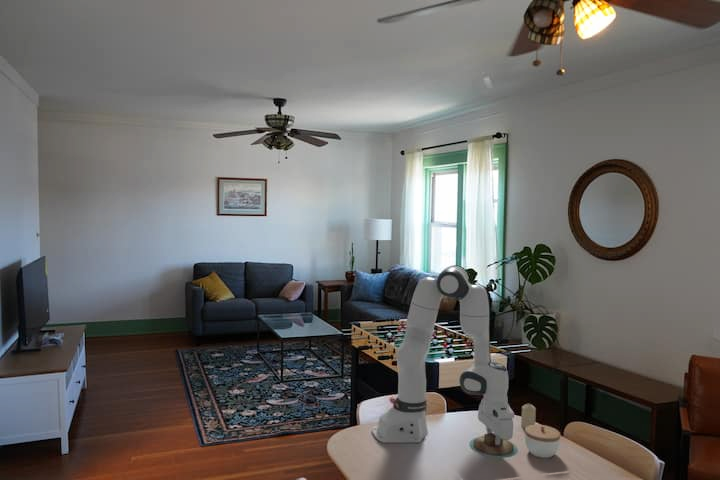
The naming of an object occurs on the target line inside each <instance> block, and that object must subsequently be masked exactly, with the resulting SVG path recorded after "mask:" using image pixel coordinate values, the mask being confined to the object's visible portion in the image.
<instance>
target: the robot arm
mask: <svg viewBox="0 0 720 480" xmlns="http://www.w3.org/2000/svg"><path fill="white" fill-rule="evenodd" d="M469 276H470V275H469V273H468V271H467V270H466V269H465V268H464V267H463V266H461V265H456V264H453V265H450V266H447V267H445V268H444V269H443V270H442V271H441V272H440V273H439V274H438V276H437V277H432V276H426V277H423V278H421V279H419V281H418V282H417V285H416V287H415V290H414V292H413V295H412V297H411V303H410V306H409V310H408V314H407V318H406V325H405V331H404V332H405V333H404V336H403V340H402V342H401V344H400V345H399V346H398V347H397V351H396V365H397V367H396V368H397V375H398V384H397V385H398V386H397V390H398V391H397V397H396V398H394V397H393V396H391V397H390V398H389V402H390V403H392V406H391V408H389V409H388V410H386V411H385V412H384V413H383V414H381V415H380V416H379V419H378V424H377V425H375V426H373V427H372V429H371V430H372V431H371V432H372V433H371V434H372V435H373V436H374V438H375V439H377V440H378V441H380V442H381V443H384V444H385V443H386V444H388V443H389V444H390V443H391V444H392V443H395V444H397V443H398V444H401V443H402V444H403V443H407V444H408V443H421V442H423V439H425V438H426V437H427V436H428V435H429V431H428V426H427V415H426V413H427V407H428V405H427V398H426V397H427V396H426V395H427V394H426V393H427V378H426V377H427V375H426V359H427V356H428V354H429V352H430V349H431V348H430V347H431V343H432V339H433V335H434V328H435V324H436V321H437V317H438V313H439V309H440V305H441V301H442V299H443V297H447V298H450V299H453V300H456V301H459V323H460V329H461V331H462V332H463V334H465V335H466V336H468V337H470V338H471V340H472V342H473V352H474V354H473V355H474V357H473V358H474V360H473V361H474V362H473V364H472V366H471V367H469V368H468V369H466V370H464V371H463V372H462V373H461V374H460V376H459V385H460V388H461V389H462V391H463V392H465V393H466V394H468V395H471V396H473V395H476V396H483V398H482V399H481V401H480V403H479V405H478V411H477V420H478V421H479V422H480V423H481V424H483V425H484V426H485V430H486V434H490V433H495V436H496V438H495V439H494V443H495V444H496V445H499V444H500V440H501V439H502V440H508V441H510V440H511V439H512V438H513V433H514V420H513V419H514V418H515V412H514V411H513V409H512V408H511V407H510V404H509V403H508V399H509V398H508V390H509V374H508V373H509V372H508V369H507V367H506V366H505V365H503V364H502V363H499V362H496V361H495V362H494V361H492V359H491V342H490V340H491V339H490V303H489V296H488V293H487V292H488V291H487V290H486V288H485V287H483V286H481V285H477V284H471V282H469V281H470V277H469Z"/></svg>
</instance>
